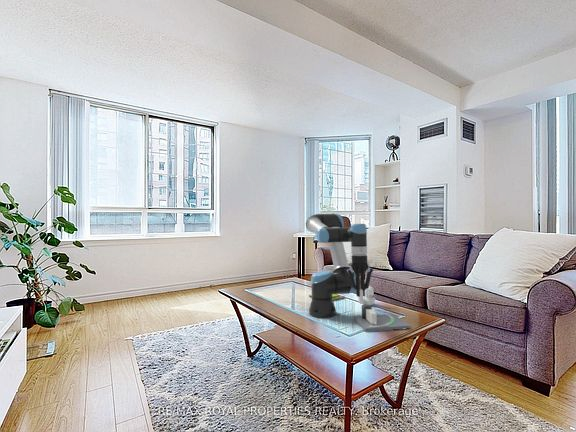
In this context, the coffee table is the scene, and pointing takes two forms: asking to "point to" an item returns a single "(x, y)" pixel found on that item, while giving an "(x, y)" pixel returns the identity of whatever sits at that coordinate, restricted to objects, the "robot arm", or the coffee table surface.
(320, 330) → the coffee table surface
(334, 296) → the wooden puzzle
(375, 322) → the white and grey lever
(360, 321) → the tuner board
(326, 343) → the coffee table surface
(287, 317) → the coffee table surface
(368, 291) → the white faucet
